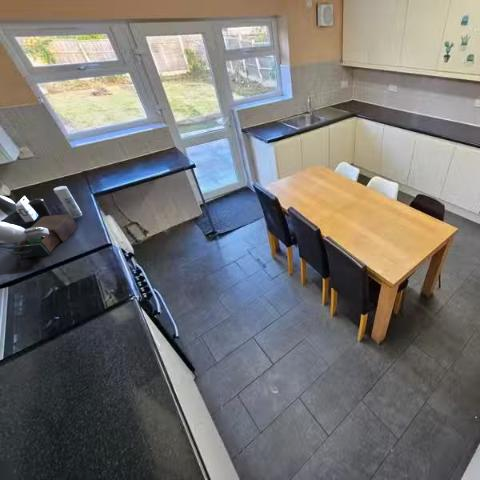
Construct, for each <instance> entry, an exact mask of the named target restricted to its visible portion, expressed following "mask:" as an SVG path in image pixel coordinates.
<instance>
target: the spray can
mask: <svg viewBox="0 0 480 480" xmlns="http://www.w3.org/2000/svg"><path fill="white" fill-rule="evenodd" d="M53 191H54V194H55V195H56V196H57V197H58V199H59V201H60V202H61V204H62V205H63V208H64V209H65V210H66V212H67V214H70V215H71V217H72V218H73V219H76V218H80V217H81V216H83V212H82V211H81V209H80V207H79V205H78V203H77V202H76V200H75V199H74V197H73V195H72V194H71V191H70V190H69V189H68V186H66V185H59V186H57V187H55V188H53Z"/></svg>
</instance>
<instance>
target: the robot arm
mask: <svg viewBox="0 0 480 480" xmlns="http://www.w3.org/2000/svg"><path fill="white" fill-rule="evenodd" d="M16 204H17V203H16V202H14V200H12V199H11V198H9V197H7V196H4V195H1V194H0V247H4V246H8V245H12V244H18V243H22V242H23V241H26V240H30V239H34V238H38V237H40V238H43V237H45V236H47V235H49V231H48V229H47V228H43V227H33V228H31V227H29V228H25V227H22V226H20V225H16V224H12V223H9V222H5V221H3V220H5V219H6V218H8V217H10V216H11V215H13V214H15V213H16V212H17V211H16Z"/></svg>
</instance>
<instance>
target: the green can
mask: <svg viewBox="0 0 480 480" xmlns="http://www.w3.org/2000/svg"><path fill="white" fill-rule="evenodd" d="M42 240H43V239H42V238H40V237H38V238H34V239H30V240H27V241H28V243H29V244H39V243H40V242H41V241H42Z"/></svg>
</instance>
